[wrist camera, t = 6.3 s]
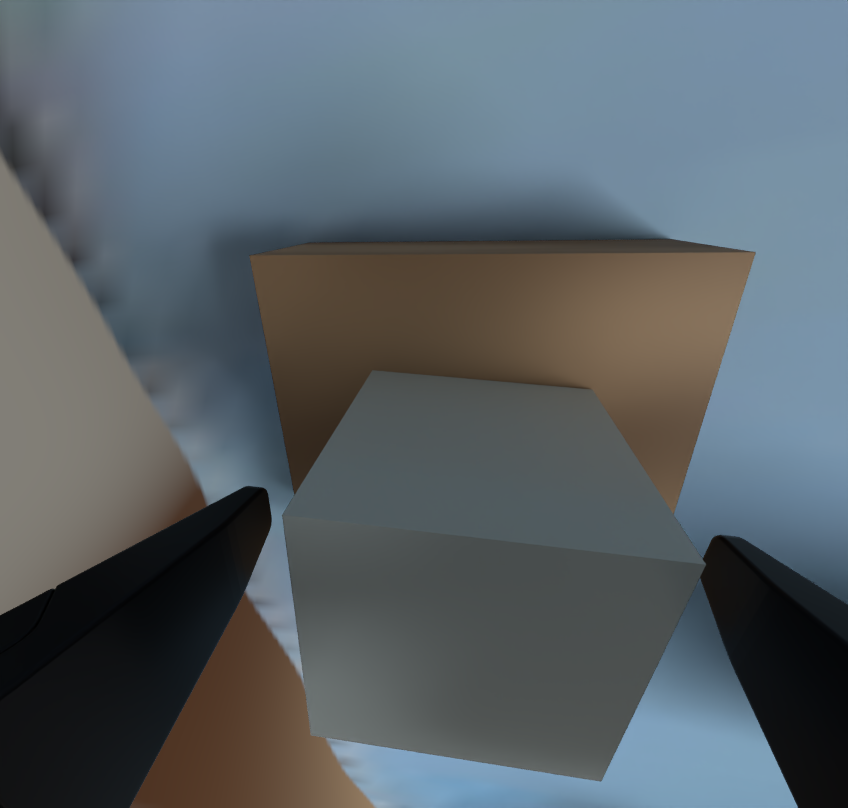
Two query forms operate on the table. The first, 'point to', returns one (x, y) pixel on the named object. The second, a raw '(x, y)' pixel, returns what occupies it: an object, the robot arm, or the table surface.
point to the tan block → (505, 329)
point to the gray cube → (482, 574)
